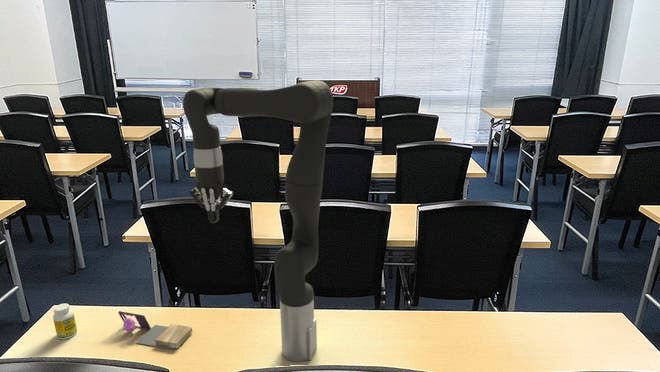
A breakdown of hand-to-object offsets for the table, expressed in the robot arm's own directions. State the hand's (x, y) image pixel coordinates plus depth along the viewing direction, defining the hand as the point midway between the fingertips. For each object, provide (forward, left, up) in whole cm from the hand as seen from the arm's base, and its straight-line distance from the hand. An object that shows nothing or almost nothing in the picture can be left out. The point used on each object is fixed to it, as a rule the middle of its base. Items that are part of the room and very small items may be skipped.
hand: (214, 221), depth 128 cm
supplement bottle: (+44, +15, -35) cm, 58 cm away
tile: (+8, +9, -34) cm, 36 cm away
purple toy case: (+26, +9, -35) cm, 44 cm away
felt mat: (+15, +9, -35) cm, 39 cm away
